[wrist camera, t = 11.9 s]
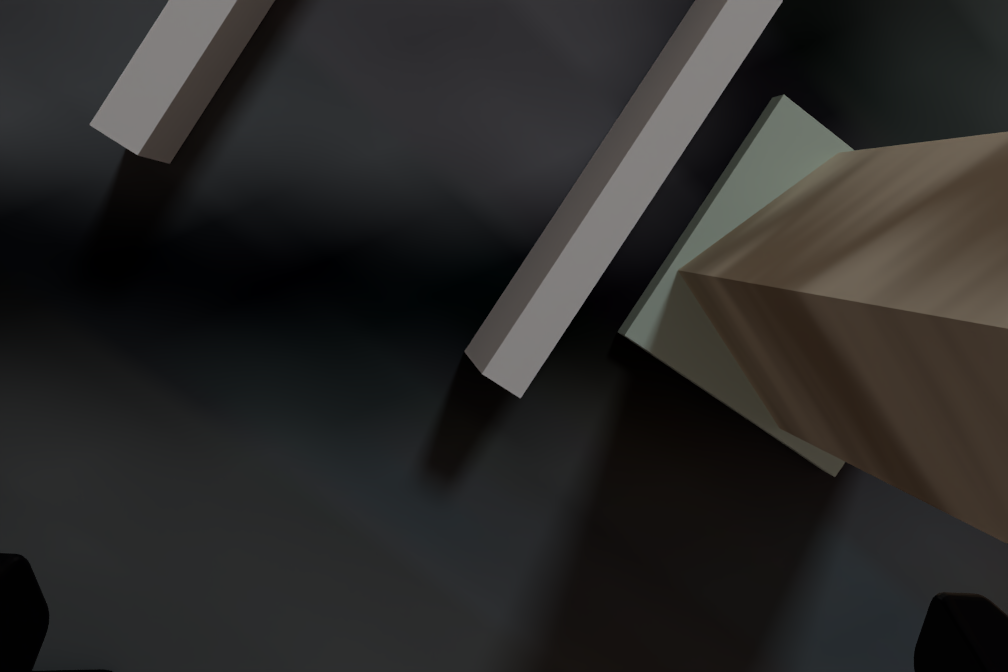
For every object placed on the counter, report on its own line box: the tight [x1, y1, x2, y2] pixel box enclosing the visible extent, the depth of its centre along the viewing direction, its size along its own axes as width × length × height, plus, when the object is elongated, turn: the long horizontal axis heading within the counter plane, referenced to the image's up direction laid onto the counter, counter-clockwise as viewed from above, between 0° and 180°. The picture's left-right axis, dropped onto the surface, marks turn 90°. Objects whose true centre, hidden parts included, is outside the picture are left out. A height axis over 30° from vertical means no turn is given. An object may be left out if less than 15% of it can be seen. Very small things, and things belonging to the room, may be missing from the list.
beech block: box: [678, 132, 1008, 544], centre depth 16 cm, size 5×5×13 cm
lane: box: [90, 0, 783, 398], centre depth 19 cm, size 14×10×3 cm
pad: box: [618, 95, 854, 477], centre depth 22 cm, size 7×7×1 cm
